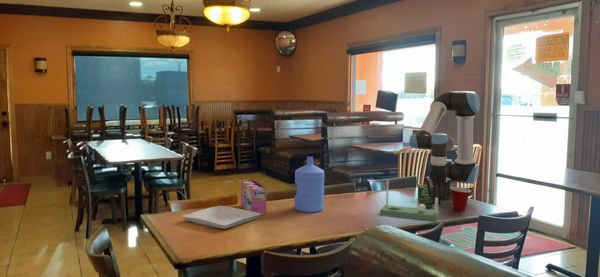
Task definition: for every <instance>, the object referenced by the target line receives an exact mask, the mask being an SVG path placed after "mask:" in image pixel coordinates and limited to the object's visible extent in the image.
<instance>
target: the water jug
mask: <svg viewBox="0 0 600 277" xmlns="http://www.w3.org/2000/svg"><path fill="white" fill-rule="evenodd" d="M294 172H295V174H294V183H295V184H296V194H295V195H294V205H293V207H294V209H295V210H296V211H298V212H303V213H318V212H321V211H323V210H324V207H325V203H324V198H325V171H324V169H322V168H320V167H318V166H316V165H314V156H307V157H306V165H302V166H301V167H299V168H297V169H296V170H294Z"/></svg>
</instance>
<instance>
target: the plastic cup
mask: <svg viewBox="0 0 600 277" xmlns="http://www.w3.org/2000/svg"><path fill="white" fill-rule="evenodd" d="M450 189H451V194H452V199H451V200H452V201H451V202H452V207H453V210H454V212H458V213H459V212H462V213H463V212H465V211H466V208H467V204H468V200H469V196H470V193H471V192H472V190H471V189H469V188H464V187H458V186H451V188H450Z"/></svg>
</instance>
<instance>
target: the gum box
mask: <svg viewBox="0 0 600 277" xmlns="http://www.w3.org/2000/svg"><path fill="white" fill-rule="evenodd" d="M240 183H241V184H240V185H241V186H240V187H241V188H240V206H241V207H242V208H243V210H247V211H252V212H256V213H260V214H261V215H266V214H267V187H265V186H264V185H263V184H261V183H259V182H257V181H256V180H250V181H243V180H241V181H240ZM261 215H260V216H261Z"/></svg>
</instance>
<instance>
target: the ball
mask: <svg viewBox="0 0 600 277" xmlns="http://www.w3.org/2000/svg"><path fill="white" fill-rule="evenodd" d="M417 208H418V210H419V211H420V212H424V211H425V209H427V208H426V207H425V205H423V204H420V205H418V207H417Z"/></svg>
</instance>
